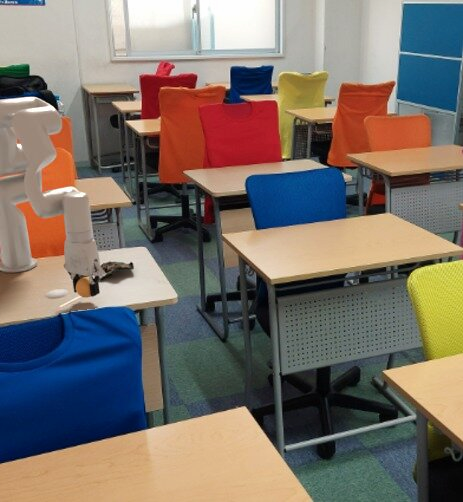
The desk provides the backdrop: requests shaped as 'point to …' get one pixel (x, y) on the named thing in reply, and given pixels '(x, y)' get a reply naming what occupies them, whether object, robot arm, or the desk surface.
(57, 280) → the desk surface
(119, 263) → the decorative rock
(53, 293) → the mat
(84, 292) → the ball
